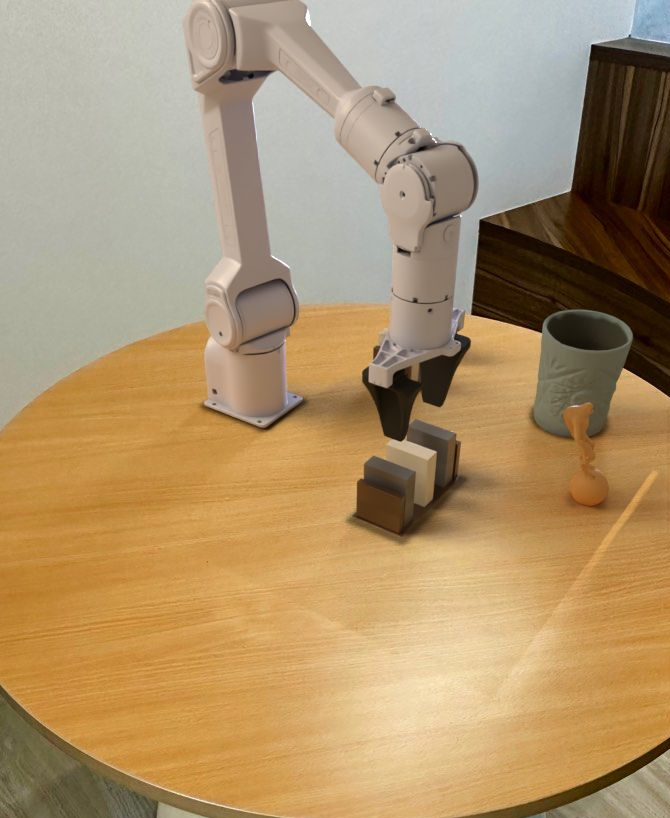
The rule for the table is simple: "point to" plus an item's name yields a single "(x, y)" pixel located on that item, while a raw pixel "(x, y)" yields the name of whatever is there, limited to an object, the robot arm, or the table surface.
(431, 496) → the white book
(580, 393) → the grey green cup
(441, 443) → the brown book rack
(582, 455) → the figurine
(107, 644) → the table surface
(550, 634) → the table surface
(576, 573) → the table surface
